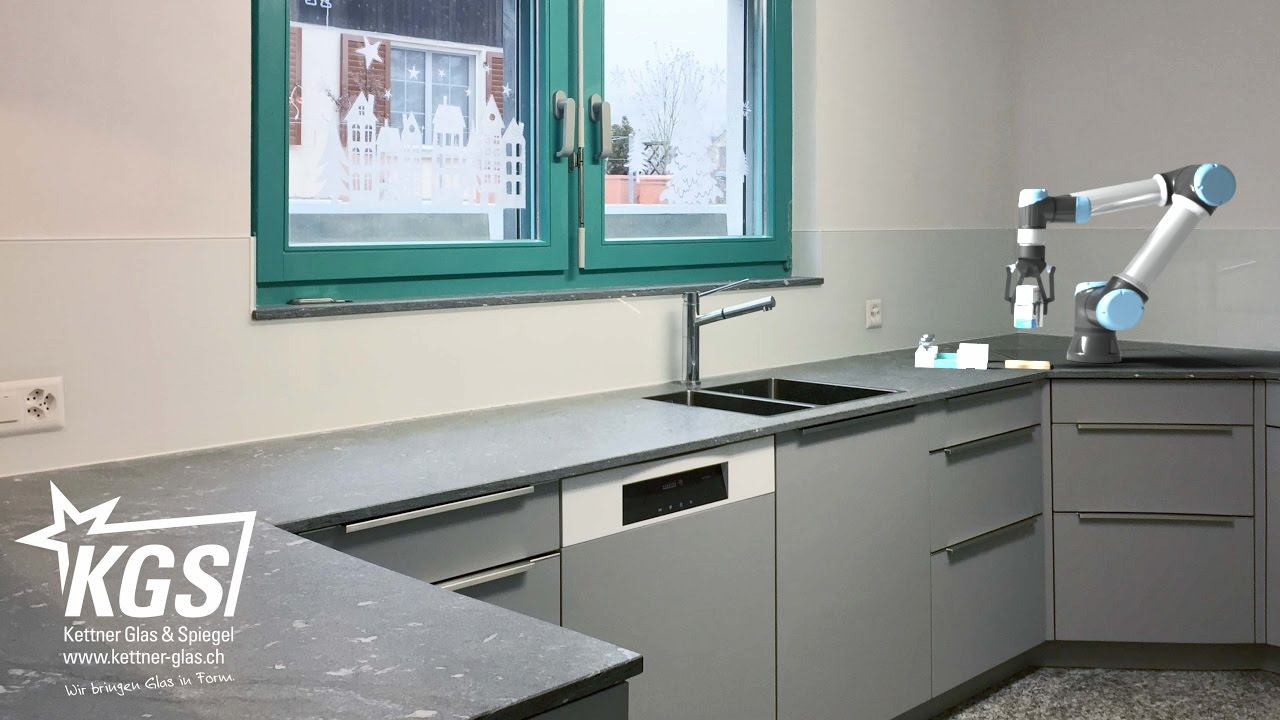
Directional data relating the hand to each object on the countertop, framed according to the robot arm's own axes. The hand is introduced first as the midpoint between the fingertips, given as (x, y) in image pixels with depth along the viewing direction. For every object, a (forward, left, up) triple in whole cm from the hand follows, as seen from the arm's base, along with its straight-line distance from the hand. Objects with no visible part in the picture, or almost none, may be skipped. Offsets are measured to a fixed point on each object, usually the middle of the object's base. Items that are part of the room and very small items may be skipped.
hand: (1028, 326), depth 343 cm
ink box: (0, 0, -1) cm, 1 cm away
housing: (+21, 0, -12) cm, 24 cm away
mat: (0, 0, -12) cm, 12 cm away
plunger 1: (+28, -5, -11) cm, 30 cm away
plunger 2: (+28, +5, -11) cm, 30 cm away
